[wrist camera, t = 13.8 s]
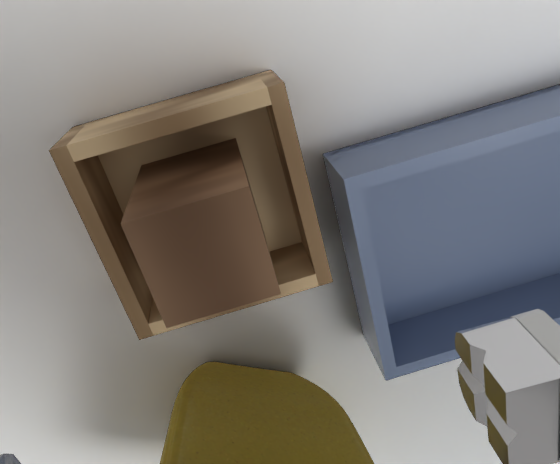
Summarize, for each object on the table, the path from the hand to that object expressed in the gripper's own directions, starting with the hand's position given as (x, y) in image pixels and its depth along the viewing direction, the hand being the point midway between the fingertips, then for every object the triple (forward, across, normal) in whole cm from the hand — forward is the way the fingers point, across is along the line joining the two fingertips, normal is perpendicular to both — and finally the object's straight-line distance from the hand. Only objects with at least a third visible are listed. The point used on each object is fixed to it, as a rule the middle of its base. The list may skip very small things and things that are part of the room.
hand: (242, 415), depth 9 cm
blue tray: (+14, -12, +5) cm, 19 cm away
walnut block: (+13, +1, +1) cm, 13 cm away
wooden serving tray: (+14, +1, 0) cm, 14 cm away
